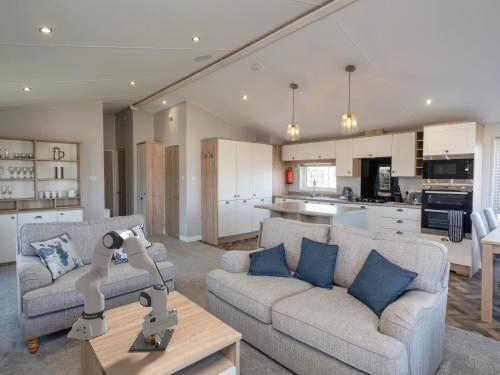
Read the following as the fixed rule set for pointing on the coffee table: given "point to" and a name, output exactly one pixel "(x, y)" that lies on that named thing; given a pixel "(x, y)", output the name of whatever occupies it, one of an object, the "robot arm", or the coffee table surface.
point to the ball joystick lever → (153, 339)
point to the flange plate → (146, 346)
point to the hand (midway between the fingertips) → (161, 337)
